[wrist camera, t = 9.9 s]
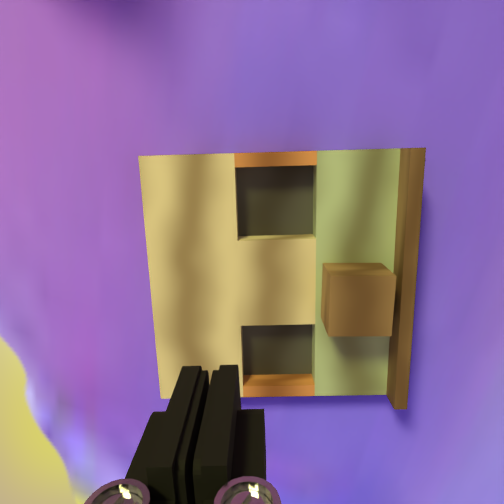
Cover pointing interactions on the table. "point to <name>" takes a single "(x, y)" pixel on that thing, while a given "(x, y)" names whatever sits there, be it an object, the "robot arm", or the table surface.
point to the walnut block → (357, 299)
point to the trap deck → (279, 265)
